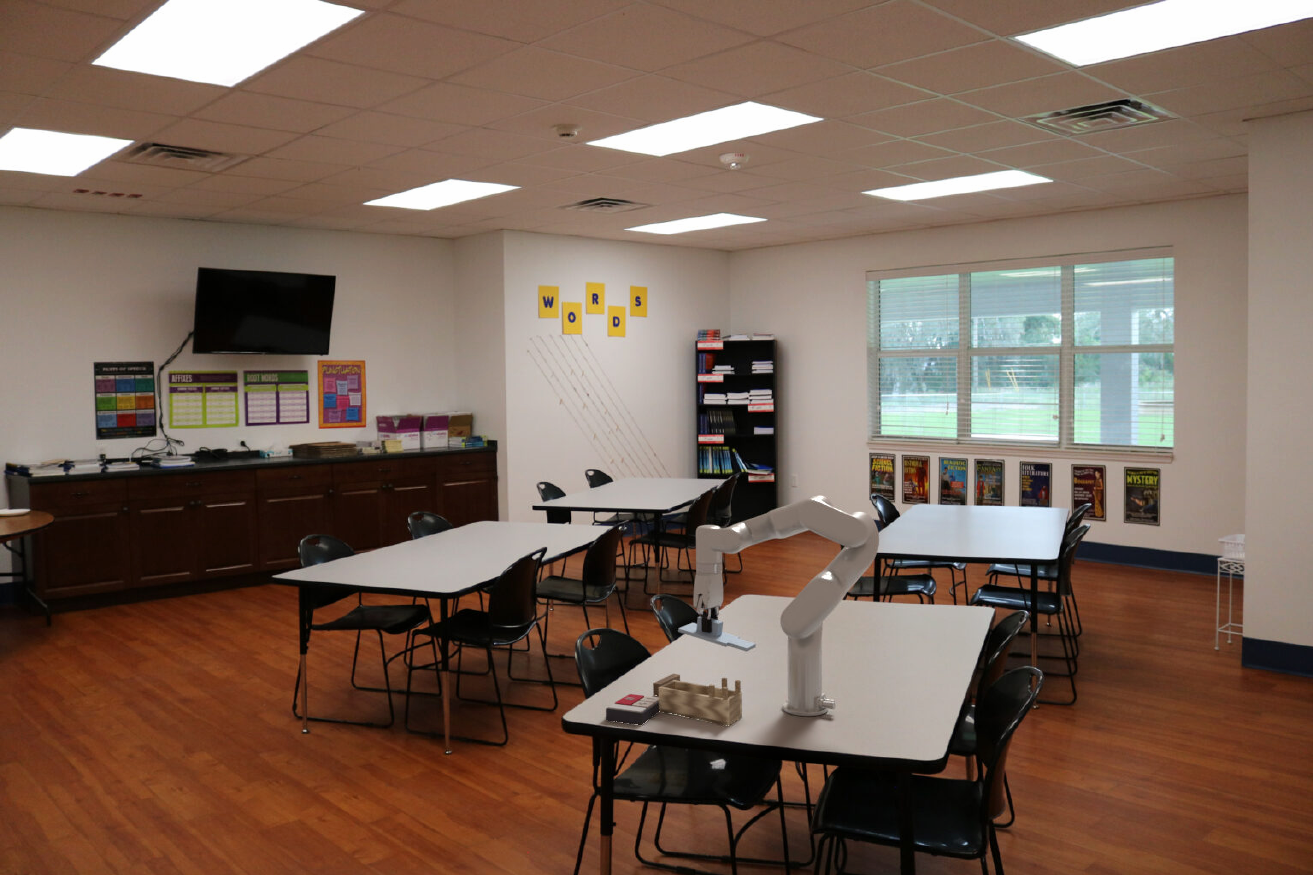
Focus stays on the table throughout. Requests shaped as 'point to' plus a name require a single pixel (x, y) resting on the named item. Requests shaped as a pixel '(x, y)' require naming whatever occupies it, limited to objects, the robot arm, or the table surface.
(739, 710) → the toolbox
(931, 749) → the table surface
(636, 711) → the grey red box
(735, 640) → the lid
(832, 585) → the robot arm
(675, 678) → the brown wooden block
